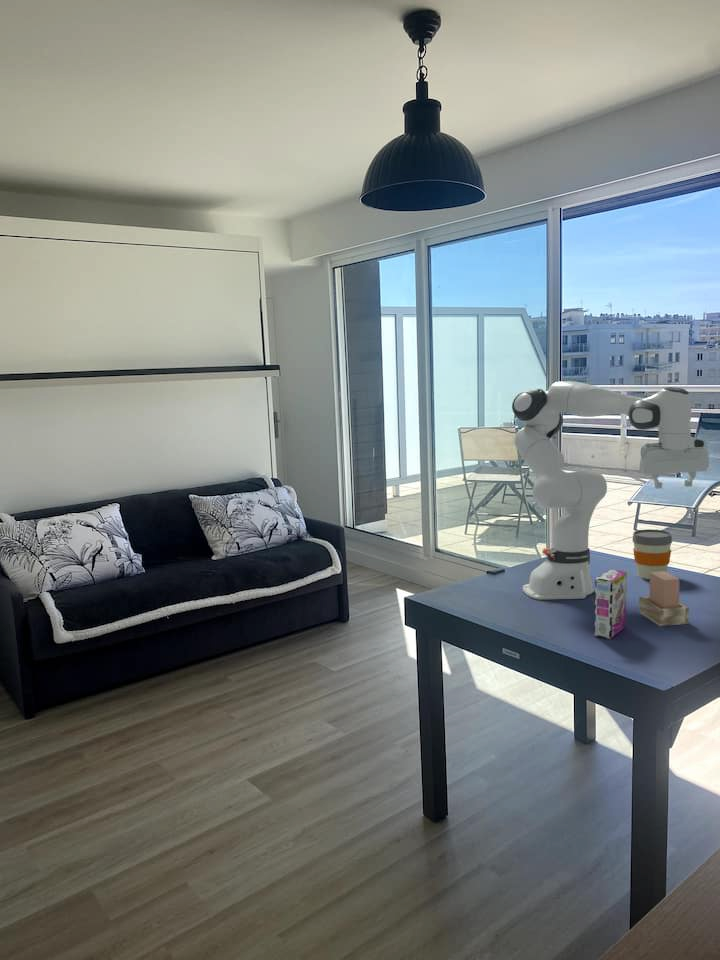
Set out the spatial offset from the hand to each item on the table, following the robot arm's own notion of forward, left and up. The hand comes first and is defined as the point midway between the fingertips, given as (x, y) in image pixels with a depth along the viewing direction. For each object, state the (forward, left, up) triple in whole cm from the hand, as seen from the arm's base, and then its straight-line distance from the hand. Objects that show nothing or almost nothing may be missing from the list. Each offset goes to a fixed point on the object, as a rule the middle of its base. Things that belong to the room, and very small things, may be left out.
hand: (673, 487), depth 221 cm
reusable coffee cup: (+6, +24, -35) cm, 43 cm away
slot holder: (-11, -15, -35) cm, 40 cm away
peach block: (-11, -16, -34) cm, 39 cm away
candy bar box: (-30, -22, -35) cm, 51 cm away
